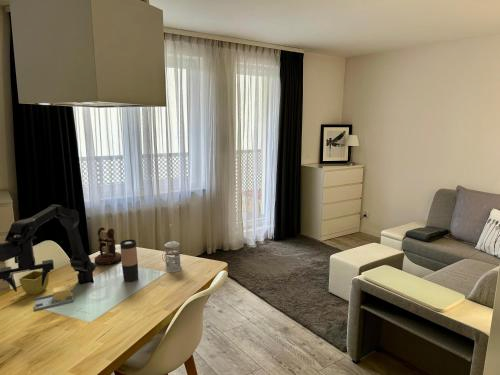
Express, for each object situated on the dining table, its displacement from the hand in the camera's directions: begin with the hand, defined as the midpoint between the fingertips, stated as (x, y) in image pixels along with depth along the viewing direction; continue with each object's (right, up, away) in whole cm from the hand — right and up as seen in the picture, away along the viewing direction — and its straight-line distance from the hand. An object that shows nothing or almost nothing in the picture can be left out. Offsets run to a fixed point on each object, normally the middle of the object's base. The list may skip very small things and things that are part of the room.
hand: (29, 288), depth 142 cm
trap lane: (+2, -10, +14) cm, 17 cm away
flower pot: (-11, -9, +23) cm, 27 cm away
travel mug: (+29, -6, +36) cm, 47 cm away
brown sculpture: (+8, -2, +60) cm, 60 cm away
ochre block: (+4, -9, +17) cm, 20 cm away
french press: (+48, -3, +47) cm, 67 cm away
